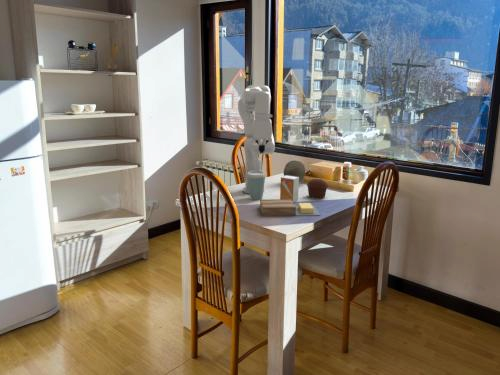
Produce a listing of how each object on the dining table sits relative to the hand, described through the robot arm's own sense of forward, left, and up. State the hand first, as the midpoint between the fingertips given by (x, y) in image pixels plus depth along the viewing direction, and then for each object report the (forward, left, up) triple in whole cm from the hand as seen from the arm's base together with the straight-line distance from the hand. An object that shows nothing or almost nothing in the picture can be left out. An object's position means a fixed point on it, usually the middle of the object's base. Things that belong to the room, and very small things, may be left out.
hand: (261, 152), depth 214 cm
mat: (+14, +21, -27) cm, 37 cm away
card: (+15, +21, -24) cm, 35 cm away
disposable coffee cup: (-9, -2, -27) cm, 29 cm away
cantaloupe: (-41, +25, -27) cm, 55 cm away
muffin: (-12, +33, -27) cm, 44 cm away
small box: (-5, +16, -27) cm, 32 cm away
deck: (+14, +7, -27) cm, 31 cm away
